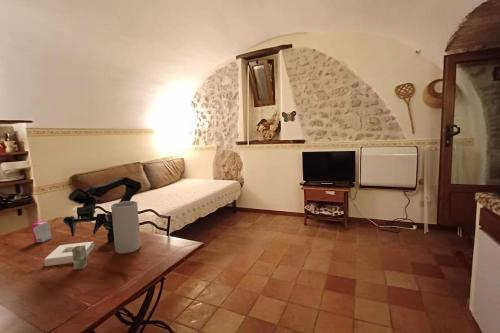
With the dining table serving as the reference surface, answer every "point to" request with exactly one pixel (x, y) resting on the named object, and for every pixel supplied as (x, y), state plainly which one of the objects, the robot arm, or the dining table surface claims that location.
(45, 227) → the supplement box
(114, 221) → the cylinder vase
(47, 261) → the socket block
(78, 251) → the peg
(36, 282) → the dining table surface
